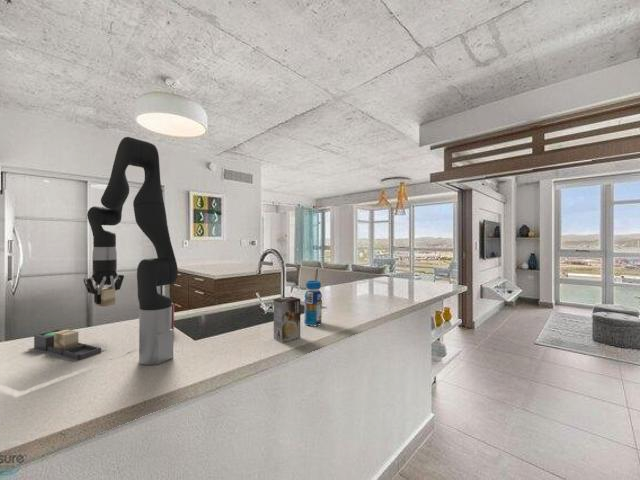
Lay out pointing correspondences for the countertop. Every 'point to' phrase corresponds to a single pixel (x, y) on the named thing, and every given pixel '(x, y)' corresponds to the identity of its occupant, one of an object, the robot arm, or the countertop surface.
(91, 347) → the grey compartment tray
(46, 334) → the button
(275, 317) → the coffee box
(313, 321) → the beverage bottle
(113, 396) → the countertop surface
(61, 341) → the block
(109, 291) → the loose billet
